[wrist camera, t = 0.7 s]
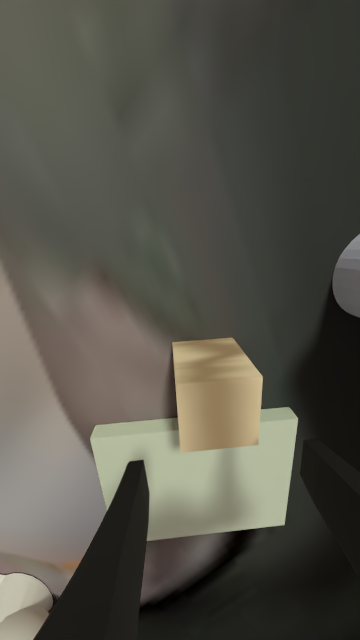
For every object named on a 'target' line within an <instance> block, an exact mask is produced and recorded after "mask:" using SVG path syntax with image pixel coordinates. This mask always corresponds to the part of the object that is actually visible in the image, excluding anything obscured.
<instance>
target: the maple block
mask: <svg viewBox="0 0 360 640" xmlns="http://www.w3.org/2000/svg"><path fill="white" fill-rule="evenodd" d="M172 346H173V359H174V372H175V385H176V398H177V412H178V425H179V438H180V451H181V453H185V452H195V451H204V450H214V449H224V448H234V447H244V446H253V445H258V444H259V428H260V412H261V397H262V381H263V377H262V375H261V374H260V373H259V371H258V370H257V369H256V368H255V366H254V365H253V364H252V362H251V361H250V360H249V358H248V357H247V356H246V355H245V353H244V352H243V351H242V349H241V348H240V347H239V346H238V344H237V343H236V342H235V340H234V339H233V338H222V339H210V340H197V341H185V342H172Z"/></svg>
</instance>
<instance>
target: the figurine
mask: <svg viewBox="0 0 360 640" xmlns="http://www.w3.org/2000/svg"><path fill="white" fill-rule="evenodd" d="M52 606H53V599H52V594H51V593H50V591H49V589H48V588H47V587H46V586H45V585H44V584H43V583H42V582H41V581H40V580H38V579H36V578H34V577H33V576H30V575H26V574H23V573H12V574H9V575H1V574H0V640H33V639H34V637H35V636H36V634H37V633H38V631H39V630H40V628H41V627H42V625H43V623H44V622H45V620H46V619H47V617H48V615H49V613H48V611H49V610H50V609H51V607H52Z"/></svg>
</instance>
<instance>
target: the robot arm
mask: <svg viewBox="0 0 360 640" xmlns="http://www.w3.org/2000/svg"><path fill="white" fill-rule="evenodd" d="M332 286H333V293H334V296H335V299H336V301H337V303H338V304H339V306H340V307H341V308H342V309H343V310H345V311H346V312H348V313H349V314H351V315H354V316H357V317H360V235H358V236H357V237H356V238H355V239H354V240H353V241H351V242H350V244H349V245H348V246H347V247H346V248H345V249H344V251H343V253H342V254H341V256H340V257H339V259H338V262H337V264H336V266H335V270H334V274H333V283H332ZM300 475H301V477H302V479H303V481H304V484H305V486H306V488H307V490H308V492H309V494H310V496H311V498H312V500H313V502H314V504H315V505H316V507H317V509H318V511H319V512H320V514H321V516H322V517H323V519H324V521H325V522H326V524H327V526H328V527H329V529H330V531H331V532H332V534H333V536H334V537H335V539H336V541H337V542H338V544H339V546H340V547H341V549H342V551H343V552H344V554H345V556H346V557H347V559H348V561H349V562H350V564H351V566H352V567H353V569H354V571H355V572H356V574H357V576H358V578H359V579H360V472H358V471H357V470H356V469H355V468H353V467H352V466H351V465H349V464H348V463H347V462H346V461H344V460H343V459H342V458H341V457H339V456H338V455H337V454H336V453H334V452H333V451H332V450H331V449H329V448H328V447H327V446H326V445H324V444H323V443H322V442H321V441H319V440H318V439H311V440H304V443H303V452H302V461H301V470H300ZM149 495H150V492H149V487H148V481H147V476H146V470H145V465H144V460H136V461H129V463H128V464H127V466H126V469H125V472H124V474H123V477H122V479H121V481H120V484H119V486H118V488H117V491H116V493H115V495H114V497H113V500H112V502H111V504H110V506H109V508H108V510H107V512H106V514H105V517H104V519H103V521H102V523H101V525H100V527H99V529H98V531H97V532H96V534H95V536H94V538H93V540H92V542H91V544H90V546H89V547H88V549H87V551H86V553H85V555H84V557H83V559H82V560H81V562H80V564H79V566H78V567H77V569H76V571H75V573H74V574H73V576H72V578H71V579H70V581H69V583H68V585H67V586H66V588H65V590H64V591H63V593H62V595H61V596H60V598H59V599H58V601H57V603H56V604H55V606H54V607H53V609H52V611H51V612H50V614H49V615H48V617H47V619H46V620H45V622H44V623H43V625H42V627H41V628H40V630H39V631H38V633H37V634H36V636H35V637H34V639H33V640H137V633H138V617H139V605H140V596H141V587H142V578H143V569H144V560H145V552H146V543H147V534H148V524H149Z"/></svg>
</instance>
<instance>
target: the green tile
mask: <svg viewBox="0 0 360 640" xmlns="http://www.w3.org/2000/svg"><path fill="white" fill-rule="evenodd" d="M297 424H298V418H297V416H296V415H295V414H294V413H293V411H292V410H291V409H290V408H289V407H283V408H273V409H262V410H261V412H260V428H259V444H258V445H253V446H244V447H234V448H224V449H214V450H204V451H195V452H185V453H181V451H180V438H179V425H178V418H167V419H157V420H146V421H136V422H125V423H114V424H104V425H95V428H94V430H93V433H92V435H91V438H90V440H91V445H92V449H93V453H94V457H95V462H96V466H97V470H98V475H99V479H100V483H101V487H102V492H103V496H104V500H105V504H106V509H107V510H108V508H109V506H110V504H111V502H112V500H113V497H114V495H115V493H116V491H117V488H118V486H119V484H120V481H121V479H122V477H123V474H124V472H125V469H126V466H127V464H128V463H129V461H136V460H144V465H145V470H146V476H147V481H148V487H149V492H150V495H149V524H148V534H147V541H151V540H160V539H168V538H176V537H185V536H193V535H202V534H210V533H219V532H227V531H236V530H244V529H253V528H261V527H269V526H278V525H284V524H285V516H286V508H287V501H288V493H289V485H290V478H291V470H292V462H293V455H294V447H295V439H296V431H297Z"/></svg>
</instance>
